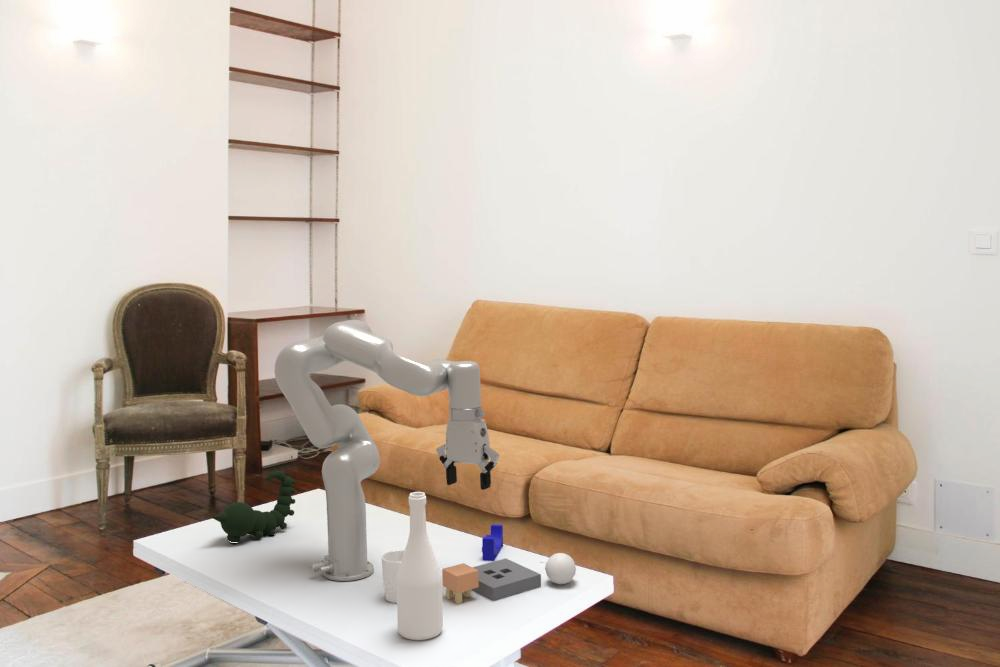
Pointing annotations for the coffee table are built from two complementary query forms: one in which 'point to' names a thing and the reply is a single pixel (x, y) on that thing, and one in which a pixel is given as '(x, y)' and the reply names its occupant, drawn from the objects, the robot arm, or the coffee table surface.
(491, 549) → the cable clip
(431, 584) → the wine bottle
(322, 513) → the coffee table surface
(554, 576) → the white piece
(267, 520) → the toy figurine
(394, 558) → the white cup
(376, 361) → the robot arm
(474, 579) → the tan block
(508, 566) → the flat gray square plate
